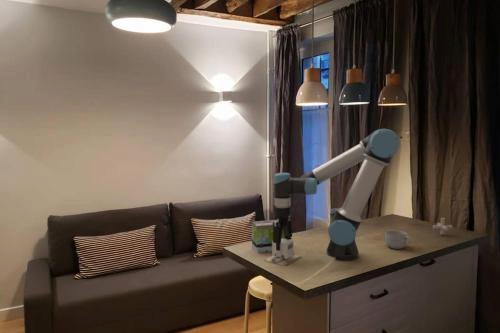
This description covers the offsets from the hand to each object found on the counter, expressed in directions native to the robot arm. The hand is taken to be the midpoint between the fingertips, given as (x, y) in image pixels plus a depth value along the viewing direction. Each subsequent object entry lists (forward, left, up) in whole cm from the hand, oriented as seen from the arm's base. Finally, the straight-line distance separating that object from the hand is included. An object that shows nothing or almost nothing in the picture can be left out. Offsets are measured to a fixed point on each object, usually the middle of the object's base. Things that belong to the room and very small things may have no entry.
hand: (283, 254), depth 182 cm
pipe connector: (-53, -84, -3) cm, 100 cm away
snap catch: (0, 0, 0) cm, 0 cm away
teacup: (-39, -48, -3) cm, 62 cm away
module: (0, 0, 0) cm, 0 cm away
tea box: (+14, -9, -3) cm, 17 cm away
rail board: (0, 0, -3) cm, 3 cm away
